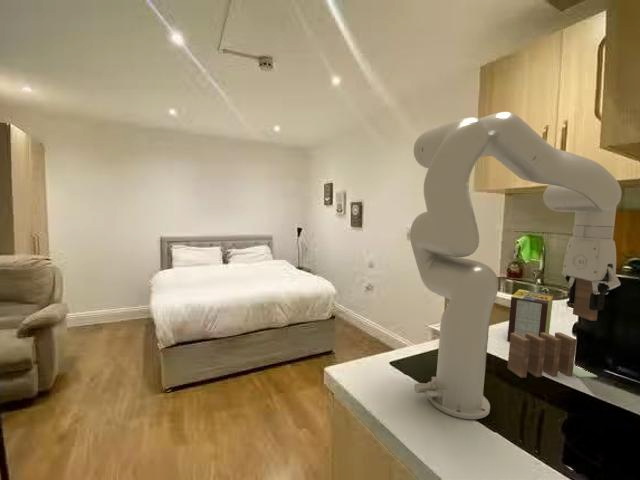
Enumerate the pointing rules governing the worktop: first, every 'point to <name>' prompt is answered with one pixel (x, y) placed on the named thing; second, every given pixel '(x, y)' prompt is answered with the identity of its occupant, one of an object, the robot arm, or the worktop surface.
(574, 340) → the domino
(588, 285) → the domino
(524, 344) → the domino
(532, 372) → the domino
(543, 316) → the protein box
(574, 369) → the pad
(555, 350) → the domino
